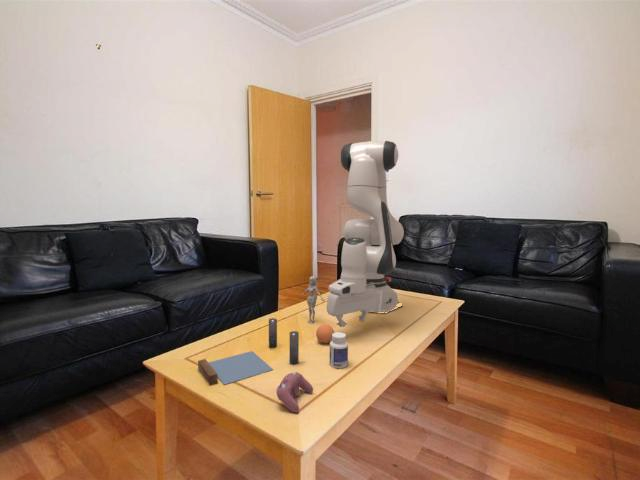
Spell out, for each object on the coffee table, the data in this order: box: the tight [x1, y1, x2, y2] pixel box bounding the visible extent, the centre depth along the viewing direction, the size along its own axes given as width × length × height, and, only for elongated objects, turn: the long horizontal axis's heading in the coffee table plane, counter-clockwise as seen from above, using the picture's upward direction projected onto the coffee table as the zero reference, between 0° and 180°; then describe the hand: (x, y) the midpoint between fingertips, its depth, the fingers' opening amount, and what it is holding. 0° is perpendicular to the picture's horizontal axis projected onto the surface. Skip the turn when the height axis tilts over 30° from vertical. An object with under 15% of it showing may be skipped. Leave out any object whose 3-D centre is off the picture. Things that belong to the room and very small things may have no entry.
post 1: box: [268, 317, 278, 349], centre depth 110 cm, size 3×3×9 cm
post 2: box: [289, 330, 300, 366], centre depth 99 cm, size 3×3×9 cm
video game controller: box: [276, 371, 314, 414], centre depth 81 cm, size 10×5×7 cm, turn 159°
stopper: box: [197, 358, 219, 386], centre depth 92 cm, size 2×10×2 cm, turn 36°
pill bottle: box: [329, 332, 349, 369], centre depth 99 cm, size 5×5×9 cm
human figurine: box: [300, 275, 326, 325], centre depth 132 cm, size 12×4×18 cm, turn 48°
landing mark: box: [207, 350, 274, 386], centre depth 97 cm, size 14×14×1 cm
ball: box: [315, 323, 335, 344], centre depth 114 cm, size 6×6×6 cm
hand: (352, 323), depth 120 cm, fingers open, 8 cm apart
